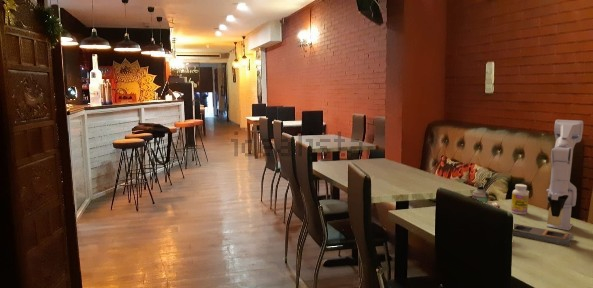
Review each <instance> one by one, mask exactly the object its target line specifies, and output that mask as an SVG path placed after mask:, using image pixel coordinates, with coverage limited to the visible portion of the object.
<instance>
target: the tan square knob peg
mask: <svg viewBox="0 0 593 288" xmlns="http://www.w3.org/2000/svg"><path fill="white" fill-rule="evenodd" d="M562 213H563V208H561V211H560V215H559V217H555V216H552V213H551V206H549V208H548V213H547V221H546V225H548V224H550V225H555V226H560V225H561V221H562Z"/></svg>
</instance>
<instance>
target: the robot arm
mask: <svg viewBox="0 0 593 288" xmlns="http://www.w3.org/2000/svg"><path fill="white" fill-rule="evenodd" d="M553 128H554V129H553V133H554V137H555V138H554V139H555V145H554V147H553V148H551V153H550V163H551V164H550V167H551V169H550V170H551V172H550V173H551V174H550V184H549V187H548V188H547V189H546V191H545V192H547V203H549V207H551V213H552V216H555V217H559V215H560V211H561V208H563V213H562V221H561V225H560V226H555V225H550V224H546V227H549V228H552V229H553V228H554V229H560V230H564V231H570V230H571V228H572V226H574V224H573V223H571V219H572V218H571V216H572V207H575V206H576V203H577V195H578V194H577V193H578V192H577V187H576V186H575V185H574V184H573V183H572V182H571V181H570V180H571V173H572V164H573V154H574V149H575V145H576V144H578V143H580V142H581V141H582V138H583V132H584V121H583V120H574V119H573V120H572V119H571V120H570V119H559V118H558V119H556V120H555V122H554V127H553Z"/></svg>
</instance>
